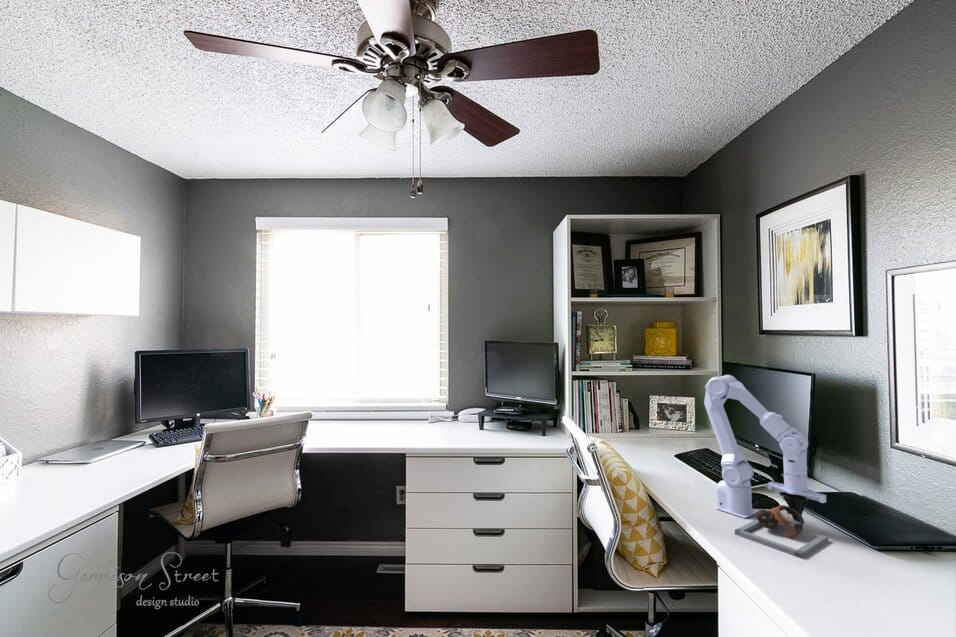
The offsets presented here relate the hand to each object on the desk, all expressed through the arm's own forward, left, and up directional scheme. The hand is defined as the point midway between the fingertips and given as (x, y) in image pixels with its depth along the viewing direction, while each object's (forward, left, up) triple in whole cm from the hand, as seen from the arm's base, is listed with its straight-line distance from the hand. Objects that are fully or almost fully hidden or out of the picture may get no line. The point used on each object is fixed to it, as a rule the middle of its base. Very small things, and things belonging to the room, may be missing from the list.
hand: (797, 519), depth 135 cm
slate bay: (0, -10, -2) cm, 10 cm away
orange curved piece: (-2, -7, -3) cm, 7 cm away
